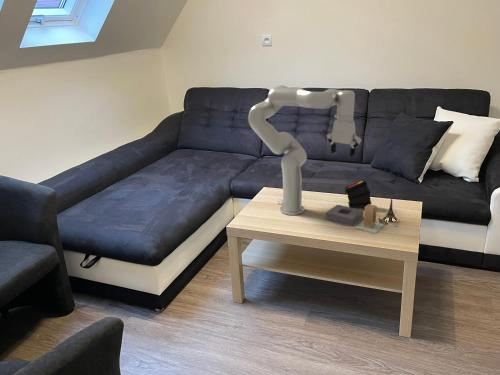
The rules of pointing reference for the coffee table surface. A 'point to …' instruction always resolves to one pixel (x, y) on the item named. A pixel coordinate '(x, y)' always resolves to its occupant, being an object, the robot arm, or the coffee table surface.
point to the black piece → (358, 194)
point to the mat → (373, 230)
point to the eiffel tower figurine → (389, 215)
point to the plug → (370, 216)
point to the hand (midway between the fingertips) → (342, 154)
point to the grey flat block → (344, 215)
